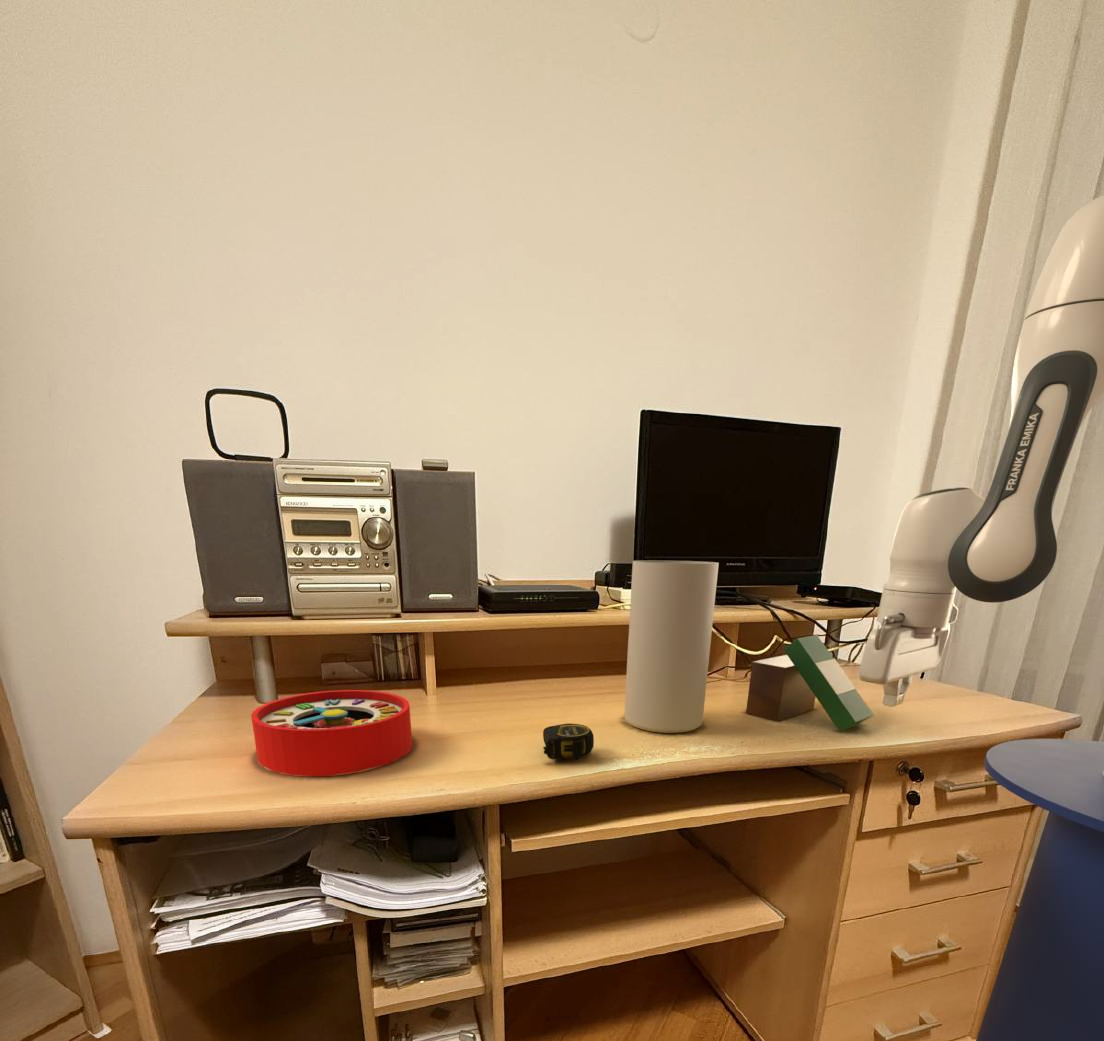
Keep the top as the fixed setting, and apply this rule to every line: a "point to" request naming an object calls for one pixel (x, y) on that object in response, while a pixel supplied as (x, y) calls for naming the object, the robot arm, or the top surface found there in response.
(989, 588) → the robot arm
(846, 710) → the block
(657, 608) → the cylinder vase
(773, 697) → the block
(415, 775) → the top surface
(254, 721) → the toy clock
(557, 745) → the tape measure
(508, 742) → the top surface
